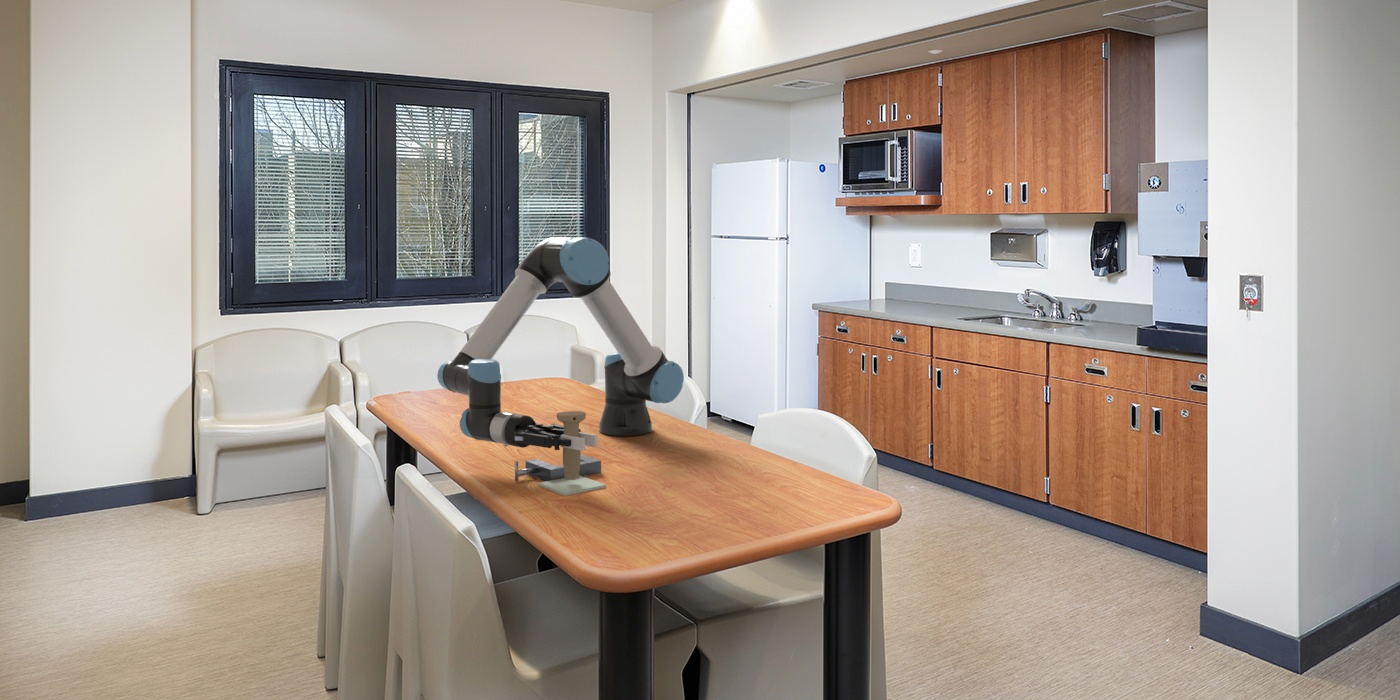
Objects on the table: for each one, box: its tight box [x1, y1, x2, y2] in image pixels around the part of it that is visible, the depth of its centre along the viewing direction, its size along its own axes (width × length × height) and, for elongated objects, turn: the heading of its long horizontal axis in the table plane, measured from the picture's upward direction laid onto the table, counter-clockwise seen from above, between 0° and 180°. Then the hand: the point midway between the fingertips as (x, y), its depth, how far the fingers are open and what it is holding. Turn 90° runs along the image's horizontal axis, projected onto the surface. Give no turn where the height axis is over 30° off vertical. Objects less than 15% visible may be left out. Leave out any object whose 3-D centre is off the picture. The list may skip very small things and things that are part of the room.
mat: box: [537, 475, 607, 497], centre depth 218 cm, size 11×11×1 cm
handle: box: [556, 410, 587, 480], centre depth 217 cm, size 5×6×15 cm
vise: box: [514, 453, 602, 482], centre depth 228 cm, size 19×11×4 cm, turn 130°
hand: (589, 442), depth 213 cm, fingers closed on handle, 3 cm apart
